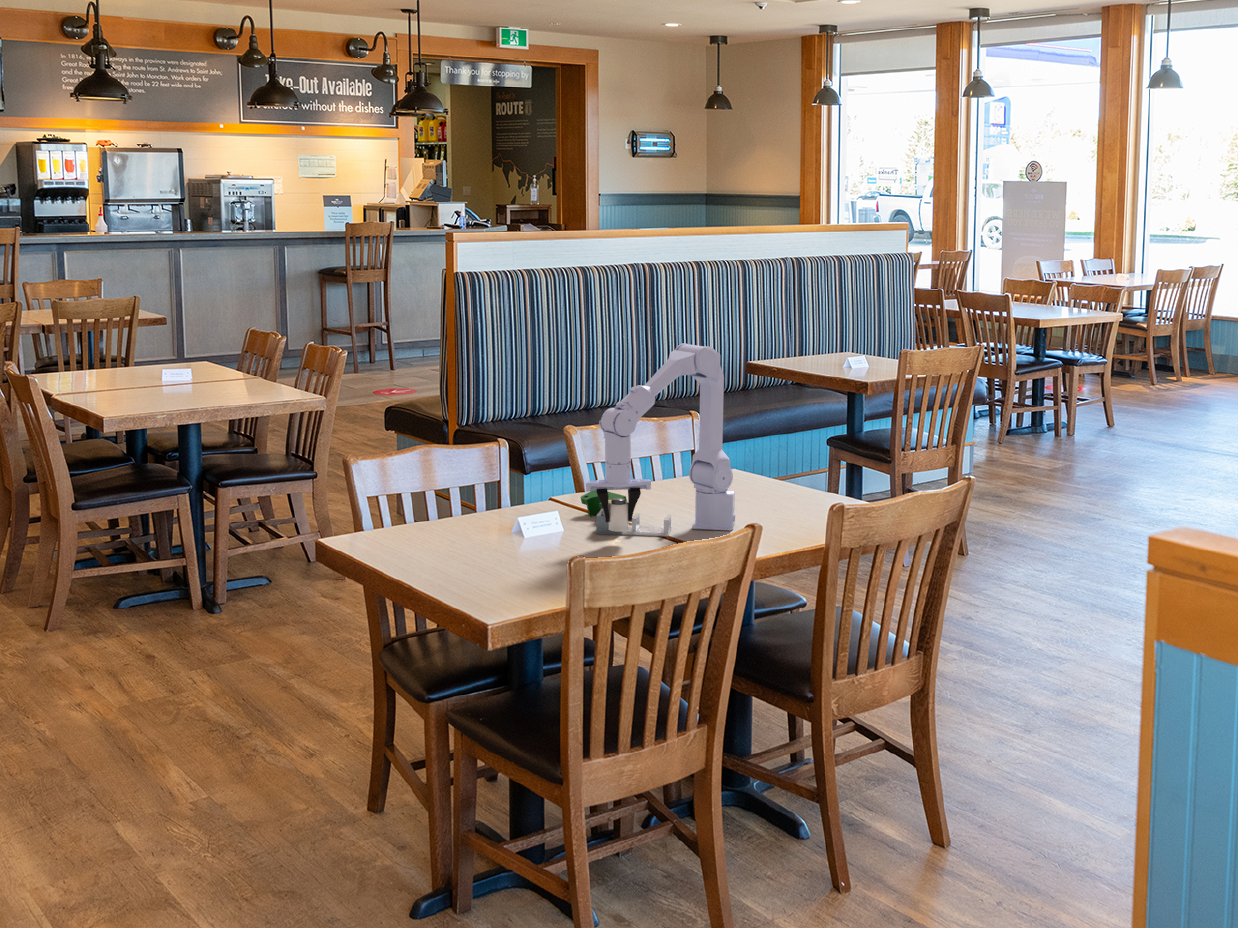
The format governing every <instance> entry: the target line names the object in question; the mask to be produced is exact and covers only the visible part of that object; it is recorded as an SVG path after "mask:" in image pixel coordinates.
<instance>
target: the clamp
mask: <svg viewBox="0 0 1238 928" xmlns="http://www.w3.org/2000/svg"><path fill="white" fill-rule="evenodd" d="M614 498H623V499H626V502H628V500H627V499H628V498H627V496H626V495H623V494H620V493H614V492H611V491H608V500H612V499H614ZM580 502H581V504H583V505H585V506H586V508H587V512H588V517H590V518H591V517H593V516H595V515H597V514H598V513H599V512H600V510H601V509H603V506H602V504H601V502H600V499H599V497H598V495H597V492H596V490H592V491H587V492H586V493H585V494H583V495H581V496H580Z"/></svg>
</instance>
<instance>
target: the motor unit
mask: <svg viewBox="0 0 1238 928" xmlns="http://www.w3.org/2000/svg"><path fill="white" fill-rule="evenodd" d="M609 502H611V500H608V511H609ZM595 515H596V516H595V522H596V523H595V525H596V528H595V529H596V530H595V531H596V533H595V534H596V535H611V536H624V535H625V536H627V535H628V536H645V537H646V536H649V537H650V536H651V537H669V535H670V533H671V531H672V515H671V514H666V516H665V517H664V519H663V525H641V524H640V513H635V514H633V516H632V522H631V524H629V529H628V530H627V531H621V532H616V531H610V530H609V522H606V521H605V514H604V510H603V509H601V510H600V512H599V513H598V514H595Z"/></svg>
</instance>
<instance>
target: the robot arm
mask: <svg viewBox="0 0 1238 928" xmlns="http://www.w3.org/2000/svg"><path fill="white" fill-rule="evenodd" d="M680 376H691V377H693V379H695V381H697V382H698V384H699V427H698V429H699V433H698V434H699V435H698V436H699V437H698V450H696V452H694V454H693V455H692V461H691V465H690V468H689V471H688V476H689V480H690V482H691V483H692V484H693V488H694V489H695V502H694V503H695V505H694V506H695V507H694V508H695V511H694V512H695V515H694V521H693V524H692V526H691V529H692V530H708V531H709V530H710V531H711V530H713V531H732V530H733V529H734V528H733V527H734V525H735V522H736V514H735V511H736V510H735V509H736V508H735V502H736V501H735V500H736V498H735V497H736V496H735V495H736V493H735V491H734V490H729V488H730V486H731V485H732V484H733V478H734V473H733V470H732V468H731V460H730V458H729V456H728V455H727V454H726V453H725V452H724V450H723V439H724V438H723V431H724V429H723V428H724V394H725V393H724V390H725V389H724V387H725V385H724V384H725V375H724V372H723V369H722V365H721V353H719V352H718V351H716V350H715V349H714V348H713V347H711V346H708V345H707V346H702V345H696V344H695V345H694V344H690V343H686V342H684V343H680V344H679V345H677V346H676V347H675V349H674V350H672V351H671V352H669V355H668V359H667V360H666V361H665V363H664V364H662V366H660V367H659V369H657V371H656V372H655V373H654V374H653V376H652V377H650V379H649V380H648V381H647V382H646V383H645V384H644V385H639V384H638V385H636V386H632V387H631V388H630V389H629V391H630V392H629V393H628V394H626V395H625V396H624V397H623V398H622V399H621V400H620V401H618V402H616V403H615V406H614V407H609V408H607V409H606V410H604V412H603V414H602V415H601V419H600V420H599V421H598V424H599V427H600V429H601V430H602V432H603V439H604V463H605V464H604V465H605V467H604V468H605V469H604V470H605V474H604V477H605V478H604V479H597V480H586V481H585V491H586V492H590V491H592V490H596V492H597V495H598V497H599V499H600V502H601V504H602V506H603V510H604V514H605V521H606V522H609V511H608V492H609V491H618V490H619V491H620V490H626V491H627V497H628V498H627V499H628V500H627V502H628V503H629V523H630V522H631V523H632V518H633V516H634V511H635V509H636V505H637V503H638V501H639V499H640V497H641V493H642V492H641V490H646V491H647V490H650V491H651V490H652V484H651V483H652V482H651V481H652V480H651V479H649V478H647V479H645V478H643V479H641V478H632V475H631V474H632V468H631V467H632V465H631V464H632V463H631V461H632V451H631V449H632V447H631V443H632V441H631V437H632V436H631V434H633V433H634V432H635V431H636V428H637V425H638V424H637V423H638V422H639V419H641V418H642V417H643V416H645V415H644V414H646V413H647V412H648V411H649V410H650V409H651V408H652V407H653V406H654V405H655V403H656V396H657V395H658V394H659V393H661V392H662V391H663V390H664V389H665V388H667V387H668V386H669V385H670V384H672V383H673V382H674V381H675V380H676V379H678V378H679V377H680Z"/></svg>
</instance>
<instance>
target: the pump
mask: <svg viewBox="0 0 1238 928" xmlns="http://www.w3.org/2000/svg"><path fill="white" fill-rule="evenodd" d="M626 499H627V498H626ZM626 499H623V498H614V499H612V500H611V502H609V530H610V531H616V532H621V531H627V530H628V529H629V525H630V524H629V523H630V522H629V503H628V501H627V502H626Z"/></svg>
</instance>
